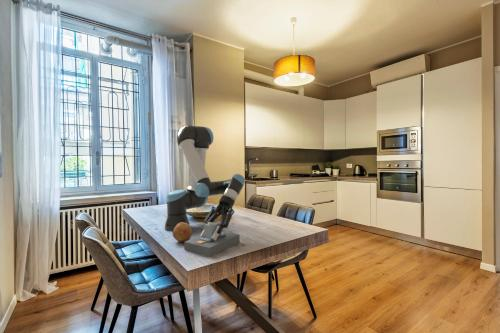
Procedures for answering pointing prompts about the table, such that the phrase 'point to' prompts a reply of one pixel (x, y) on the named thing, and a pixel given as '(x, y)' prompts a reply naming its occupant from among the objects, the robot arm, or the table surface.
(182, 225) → the onion
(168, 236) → the table surface
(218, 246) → the pocket block
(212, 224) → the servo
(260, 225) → the table surface
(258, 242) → the table surface
